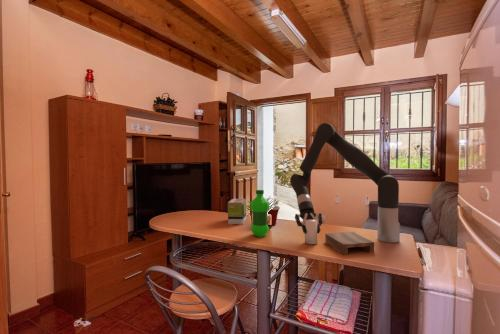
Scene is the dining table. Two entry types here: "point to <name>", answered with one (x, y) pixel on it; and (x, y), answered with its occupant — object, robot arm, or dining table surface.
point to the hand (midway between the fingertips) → (312, 232)
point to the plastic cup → (274, 214)
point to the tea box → (237, 211)
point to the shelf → (348, 241)
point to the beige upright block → (311, 231)
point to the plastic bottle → (259, 214)
